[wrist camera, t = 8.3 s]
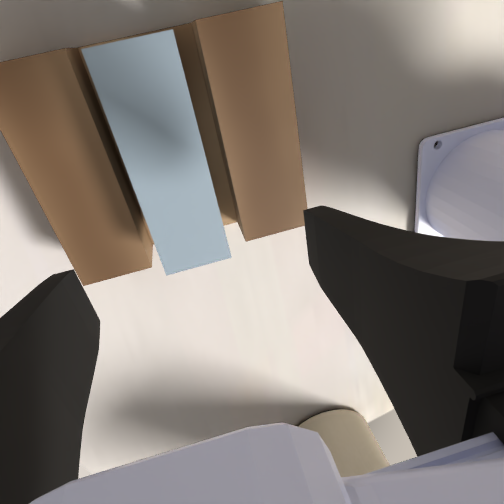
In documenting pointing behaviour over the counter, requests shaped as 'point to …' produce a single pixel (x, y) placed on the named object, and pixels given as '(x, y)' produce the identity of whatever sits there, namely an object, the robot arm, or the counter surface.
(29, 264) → the counter surface
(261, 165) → the slot block
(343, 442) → the travel mug
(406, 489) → the robot arm
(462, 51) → the counter surface
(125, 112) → the pale blue tapered bar
